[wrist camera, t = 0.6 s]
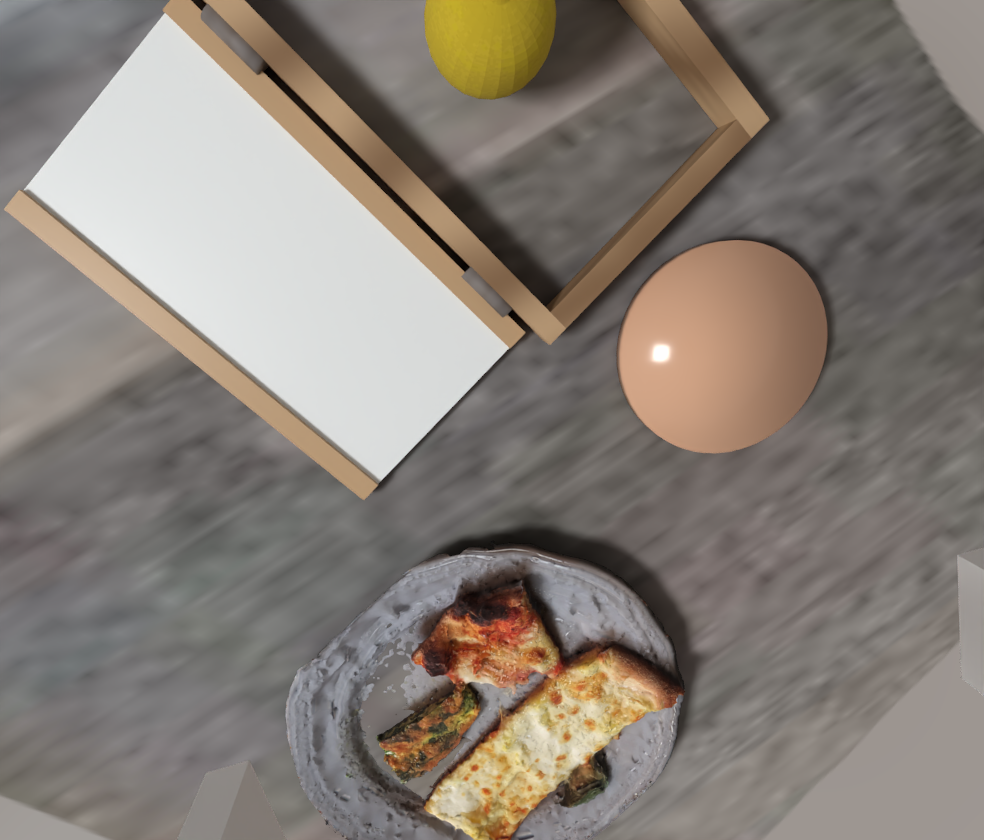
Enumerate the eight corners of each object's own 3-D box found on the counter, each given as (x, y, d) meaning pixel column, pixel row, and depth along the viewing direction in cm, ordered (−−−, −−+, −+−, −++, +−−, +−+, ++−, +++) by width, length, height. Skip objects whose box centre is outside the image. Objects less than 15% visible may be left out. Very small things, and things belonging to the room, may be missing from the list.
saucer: (573, 353, 33) (577, 355, 32) (731, 192, 32) (740, 190, 31) (705, 486, 36) (713, 492, 35) (855, 345, 35) (867, 347, 34)
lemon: (501, 139, 30) (526, 97, 22) (404, 74, 29) (395, 7, 21) (558, 34, 29) (604, -46, 21) (460, -36, 28) (472, -149, 20)
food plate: (511, 461, 35) (518, 484, 31) (737, 684, 41) (764, 724, 37) (226, 719, 38) (205, 766, 35) (475, 890, 44) (478, 943, 41)
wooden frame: (161, -19, 27) (141, -40, 25) (401, -323, 25) (399, -371, 23) (534, 349, 33) (540, 354, 31) (748, 128, 31) (769, 119, 29)
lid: (18, 210, 29) (4, 209, 28) (188, -2, 27) (179, -12, 26) (365, 493, 34) (363, 500, 33) (522, 330, 33) (525, 332, 32)
